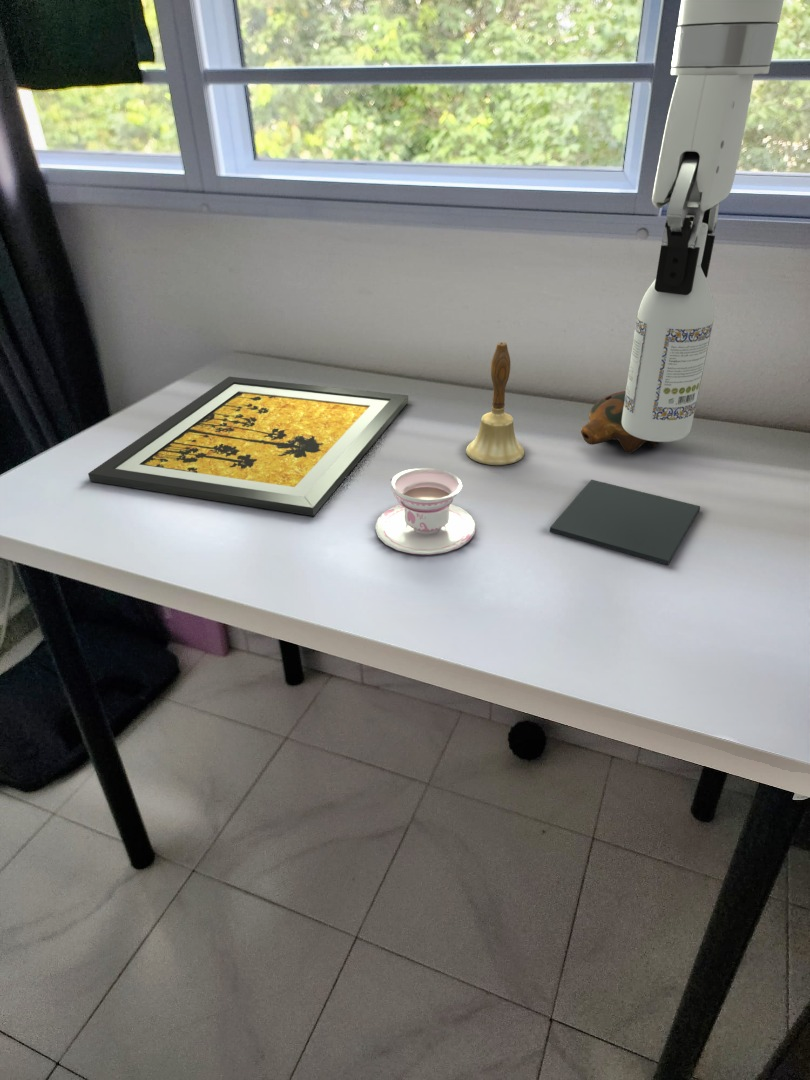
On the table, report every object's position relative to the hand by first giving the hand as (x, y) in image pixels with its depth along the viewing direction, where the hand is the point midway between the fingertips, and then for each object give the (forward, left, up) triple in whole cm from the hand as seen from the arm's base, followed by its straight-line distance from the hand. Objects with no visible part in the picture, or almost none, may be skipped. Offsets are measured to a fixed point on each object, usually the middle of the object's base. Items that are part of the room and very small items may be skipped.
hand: (681, 283), depth 70 cm
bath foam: (0, 0, -15) cm, 15 cm away
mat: (+3, -5, -30) cm, 30 cm away
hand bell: (+25, -14, -30) cm, 41 cm away
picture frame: (+57, -1, -30) cm, 64 cm away
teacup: (+23, +9, -30) cm, 38 cm away
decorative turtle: (+10, -26, -30) cm, 41 cm away
